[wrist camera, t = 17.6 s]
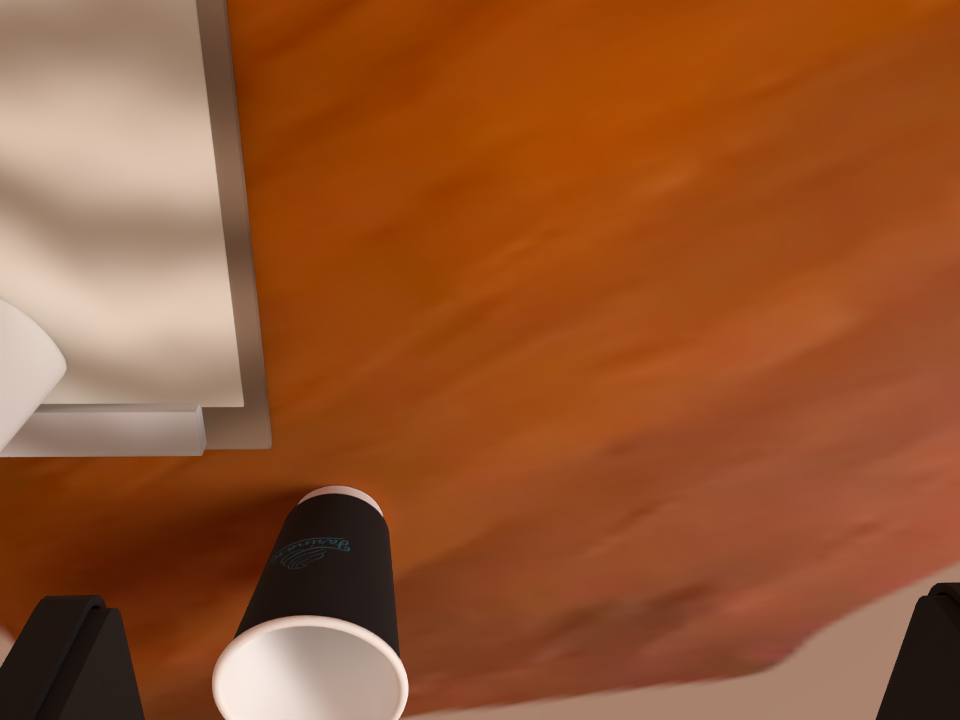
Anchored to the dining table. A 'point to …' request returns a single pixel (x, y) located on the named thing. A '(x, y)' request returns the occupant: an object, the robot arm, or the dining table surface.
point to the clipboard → (130, 226)
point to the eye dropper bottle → (24, 369)
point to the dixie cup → (319, 621)
